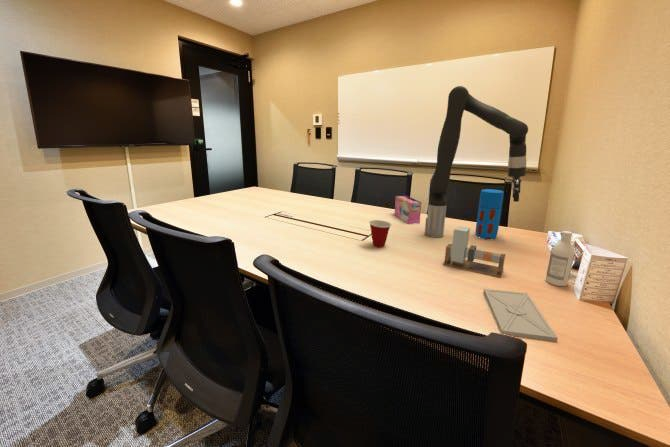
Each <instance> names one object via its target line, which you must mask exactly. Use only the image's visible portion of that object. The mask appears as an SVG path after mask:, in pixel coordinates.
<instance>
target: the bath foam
mask: <svg viewBox="0 0 670 447" xmlns="http://www.w3.org/2000/svg"><path fill="white" fill-rule="evenodd" d="M572 237H573V232H571V231H569V230H562V231H561V237H560V240H559V241H558V242H557V243H556V244H555V245H554V246H553V247H552V249H551V252H550V256H549V260H548V266H547V269H546V275H545V281H546V282H547V283H548V284H551V285H554V286H558V287H565V286H568V284H569V281H570V277H571V276H570V275H571V271H572V268H573V263H574V260H575V248H574V247H573V245H572V243H571V241H572Z"/></svg>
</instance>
